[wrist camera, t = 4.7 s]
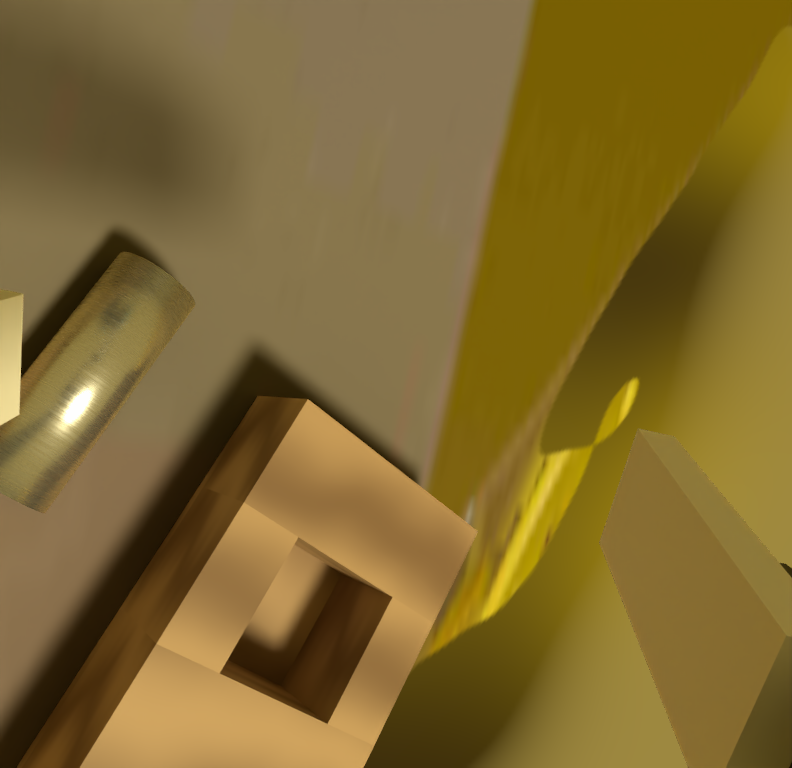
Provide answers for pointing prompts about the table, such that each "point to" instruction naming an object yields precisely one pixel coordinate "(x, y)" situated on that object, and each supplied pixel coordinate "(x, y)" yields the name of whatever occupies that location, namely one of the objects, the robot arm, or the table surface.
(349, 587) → the holder block
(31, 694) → the table surface
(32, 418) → the round bit
